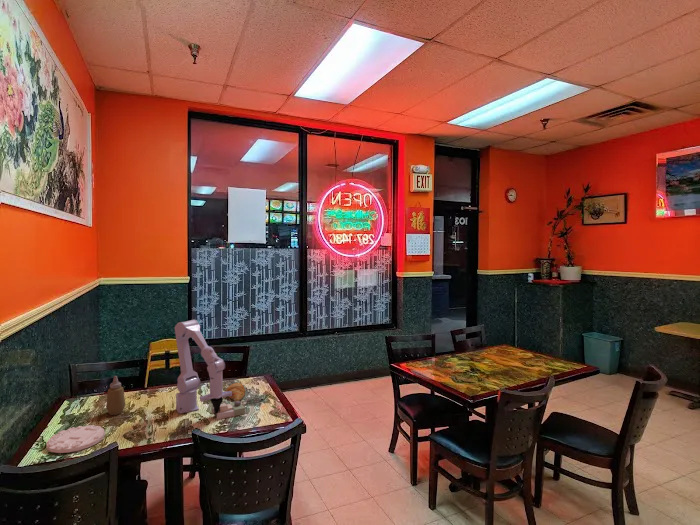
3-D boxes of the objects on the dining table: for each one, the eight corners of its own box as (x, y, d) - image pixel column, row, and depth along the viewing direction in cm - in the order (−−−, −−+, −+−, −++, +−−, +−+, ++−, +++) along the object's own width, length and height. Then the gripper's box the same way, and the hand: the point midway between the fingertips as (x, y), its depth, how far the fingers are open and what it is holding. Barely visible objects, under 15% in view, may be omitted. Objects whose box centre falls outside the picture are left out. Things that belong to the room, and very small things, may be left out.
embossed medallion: (68, 459, 154) (68, 451, 154) (34, 448, 161) (34, 441, 161) (115, 436, 172) (115, 429, 172) (83, 427, 179) (83, 421, 179)
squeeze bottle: (116, 417, 190) (116, 379, 189) (102, 415, 192) (101, 378, 191) (129, 410, 198) (128, 374, 197) (115, 408, 200) (114, 373, 199)
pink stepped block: (220, 416, 192) (220, 407, 192) (217, 412, 196) (217, 404, 196) (232, 413, 195) (232, 405, 195) (230, 410, 199) (230, 401, 199)
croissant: (242, 408, 210) (250, 394, 211) (225, 402, 206) (232, 388, 207) (238, 393, 230) (245, 381, 230) (222, 387, 226) (229, 374, 227)
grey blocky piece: (217, 419, 188) (217, 410, 188) (212, 412, 197) (212, 402, 197) (245, 413, 195) (245, 404, 195) (238, 406, 204) (238, 397, 203)
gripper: (202, 390, 185) (202, 419, 186) (233, 385, 193) (233, 412, 193) (199, 386, 191) (199, 414, 191) (229, 380, 199) (229, 407, 199)
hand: (216, 413), depth 193 cm, fingers closed
